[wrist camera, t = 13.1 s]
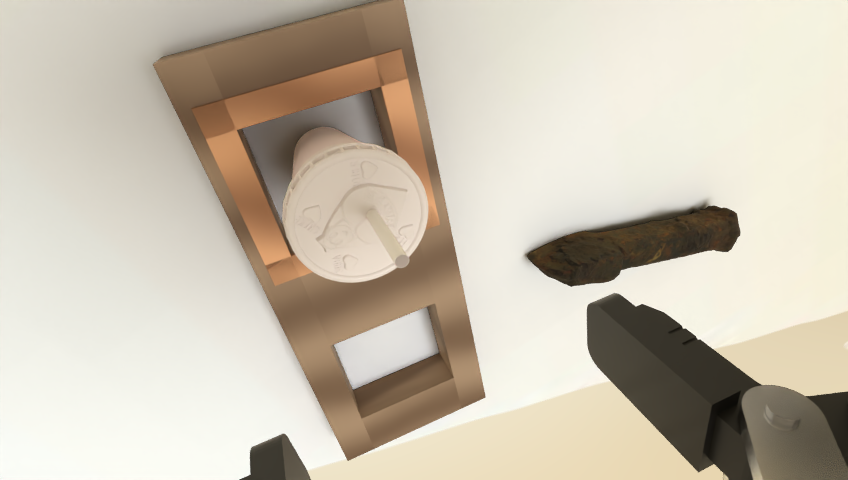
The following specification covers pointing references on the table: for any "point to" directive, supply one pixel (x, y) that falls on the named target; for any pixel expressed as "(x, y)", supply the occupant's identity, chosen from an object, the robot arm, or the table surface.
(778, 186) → the table surface
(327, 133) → the smoothie
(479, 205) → the table surface
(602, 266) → the hand tool
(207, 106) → the wooden tray
